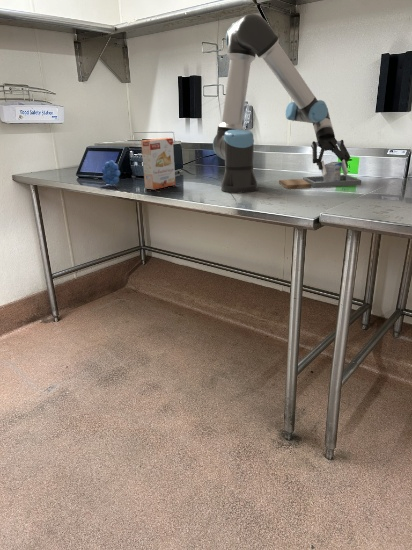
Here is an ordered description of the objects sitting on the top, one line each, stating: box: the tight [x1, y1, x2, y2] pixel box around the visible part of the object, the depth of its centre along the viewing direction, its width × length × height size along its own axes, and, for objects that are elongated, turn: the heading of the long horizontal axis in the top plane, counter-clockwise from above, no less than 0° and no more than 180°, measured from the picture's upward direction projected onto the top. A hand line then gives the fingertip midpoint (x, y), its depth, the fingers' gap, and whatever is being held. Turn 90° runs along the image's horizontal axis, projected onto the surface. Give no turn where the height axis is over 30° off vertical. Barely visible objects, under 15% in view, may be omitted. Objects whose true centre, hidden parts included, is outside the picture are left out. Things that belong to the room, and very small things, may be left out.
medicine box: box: [323, 161, 342, 182], centre depth 174 cm, size 8×4×9 cm, turn 143°
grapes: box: [101, 159, 121, 185], centre depth 190 cm, size 12×7×12 cm, turn 54°
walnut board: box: [278, 178, 312, 190], centre depth 175 cm, size 10×13×2 cm
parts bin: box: [302, 174, 362, 189], centre depth 176 cm, size 20×15×2 cm
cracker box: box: [140, 137, 176, 189], centre depth 179 cm, size 14×6×21 cm, turn 141°
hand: (335, 174), depth 171 cm, fingers closed on medicine box, 8 cm apart
